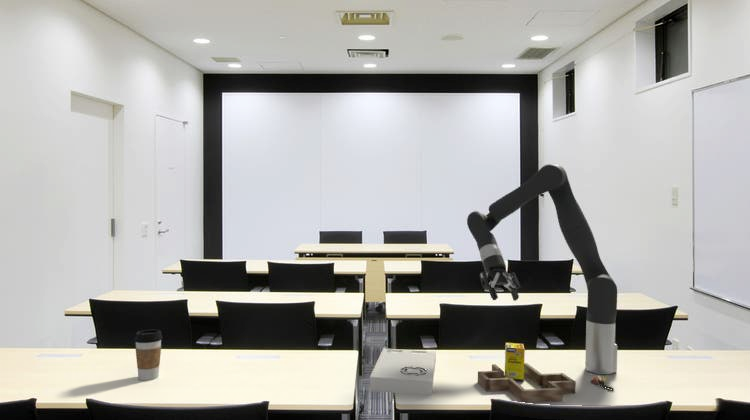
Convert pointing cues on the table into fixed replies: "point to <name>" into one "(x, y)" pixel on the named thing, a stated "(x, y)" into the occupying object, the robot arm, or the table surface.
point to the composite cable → (601, 382)
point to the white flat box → (404, 372)
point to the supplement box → (514, 361)
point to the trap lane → (550, 383)
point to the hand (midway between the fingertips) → (506, 299)
